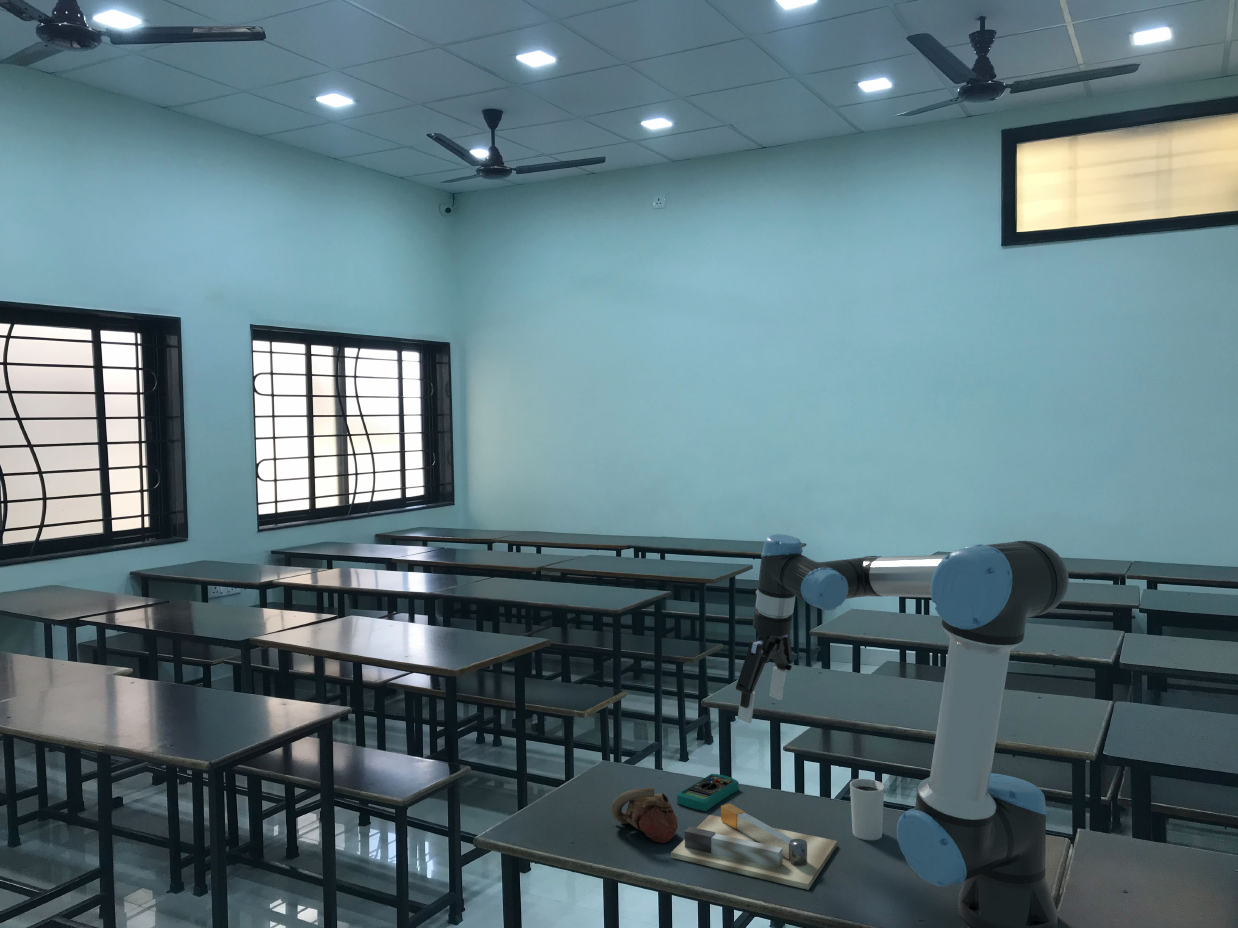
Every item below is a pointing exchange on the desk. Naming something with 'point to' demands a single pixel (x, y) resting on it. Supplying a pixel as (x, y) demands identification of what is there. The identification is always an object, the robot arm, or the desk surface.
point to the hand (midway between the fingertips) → (760, 708)
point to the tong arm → (765, 834)
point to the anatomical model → (647, 813)
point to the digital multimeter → (707, 792)
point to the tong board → (757, 870)
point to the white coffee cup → (867, 808)
